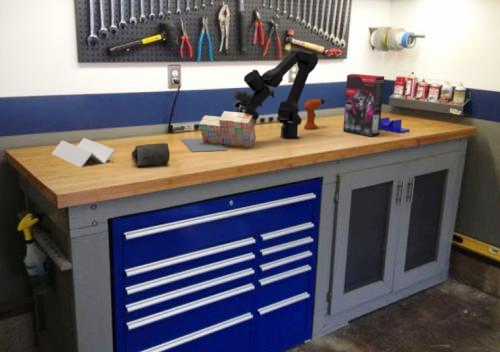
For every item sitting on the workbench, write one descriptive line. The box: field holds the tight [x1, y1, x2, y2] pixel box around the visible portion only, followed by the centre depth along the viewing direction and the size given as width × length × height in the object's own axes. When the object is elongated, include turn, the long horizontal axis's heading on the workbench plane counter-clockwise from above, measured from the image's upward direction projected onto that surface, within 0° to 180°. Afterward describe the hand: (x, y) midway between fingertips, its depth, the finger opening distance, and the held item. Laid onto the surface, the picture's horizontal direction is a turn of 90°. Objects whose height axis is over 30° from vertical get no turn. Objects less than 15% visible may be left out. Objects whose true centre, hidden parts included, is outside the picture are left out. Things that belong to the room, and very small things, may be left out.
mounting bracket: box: [380, 116, 411, 134], centre depth 253 cm, size 18×7×6 cm, turn 40°
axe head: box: [131, 142, 171, 168], centre depth 185 cm, size 26×8×15 cm
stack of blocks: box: [199, 110, 257, 148], centre depth 208 cm, size 21×6×12 cm, turn 71°
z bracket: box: [51, 137, 116, 168], centre depth 184 cm, size 12×25×6 cm
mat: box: [180, 138, 229, 153], centre depth 210 cm, size 14×24×1 cm, turn 18°
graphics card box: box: [342, 73, 385, 137], centre depth 239 cm, size 17×7×27 cm, turn 41°
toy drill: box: [303, 98, 330, 131], centre depth 254 cm, size 5×19×15 cm, turn 135°
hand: (231, 125), depth 211 cm, fingers closed
